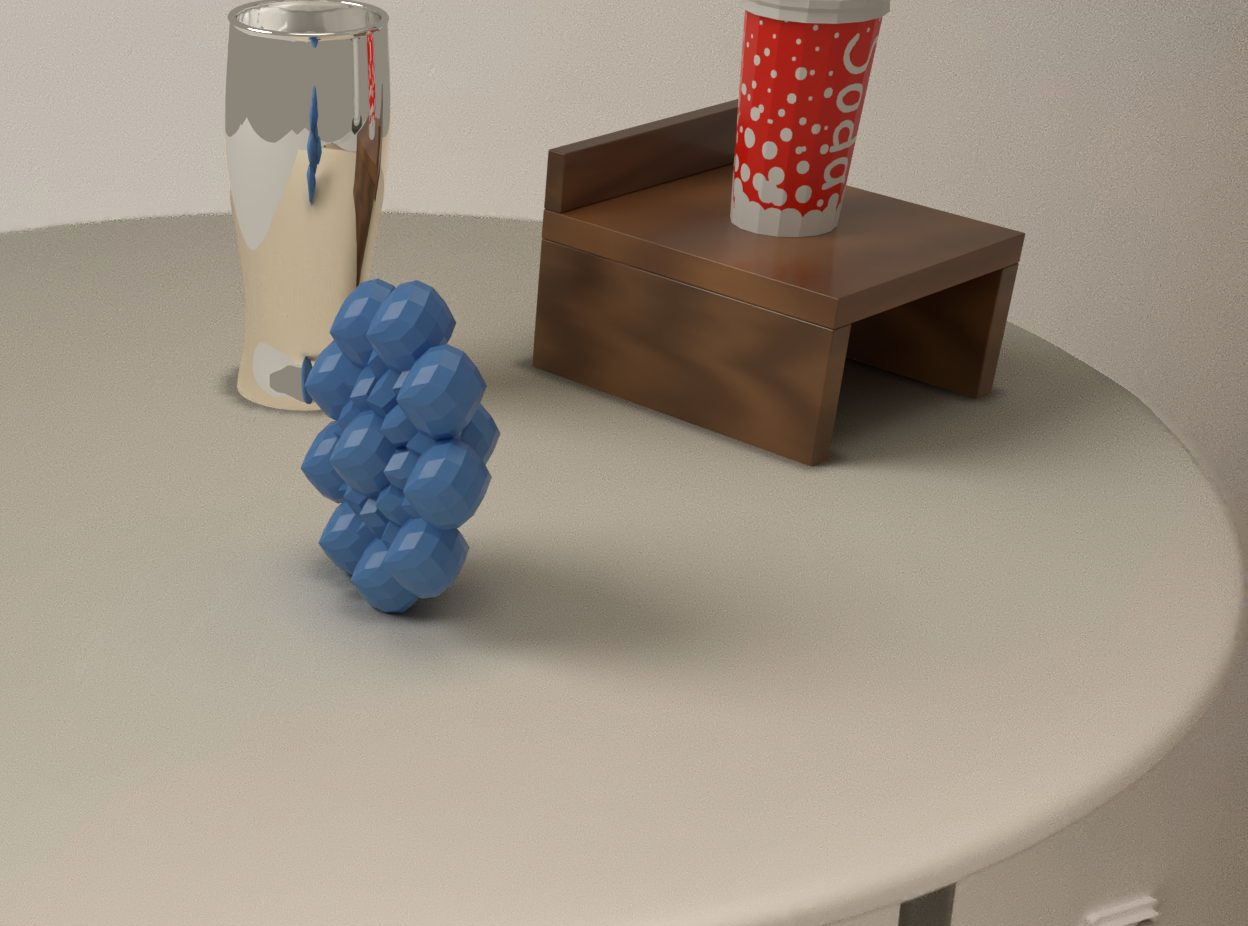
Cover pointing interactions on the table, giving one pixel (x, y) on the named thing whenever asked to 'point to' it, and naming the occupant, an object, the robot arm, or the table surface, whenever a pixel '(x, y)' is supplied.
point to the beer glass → (303, 176)
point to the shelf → (752, 289)
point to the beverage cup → (800, 111)
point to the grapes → (398, 443)
